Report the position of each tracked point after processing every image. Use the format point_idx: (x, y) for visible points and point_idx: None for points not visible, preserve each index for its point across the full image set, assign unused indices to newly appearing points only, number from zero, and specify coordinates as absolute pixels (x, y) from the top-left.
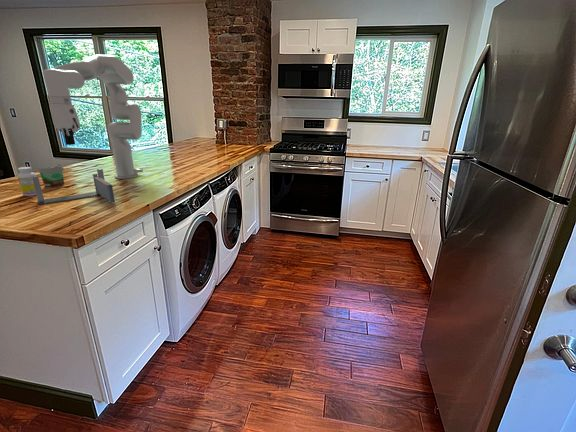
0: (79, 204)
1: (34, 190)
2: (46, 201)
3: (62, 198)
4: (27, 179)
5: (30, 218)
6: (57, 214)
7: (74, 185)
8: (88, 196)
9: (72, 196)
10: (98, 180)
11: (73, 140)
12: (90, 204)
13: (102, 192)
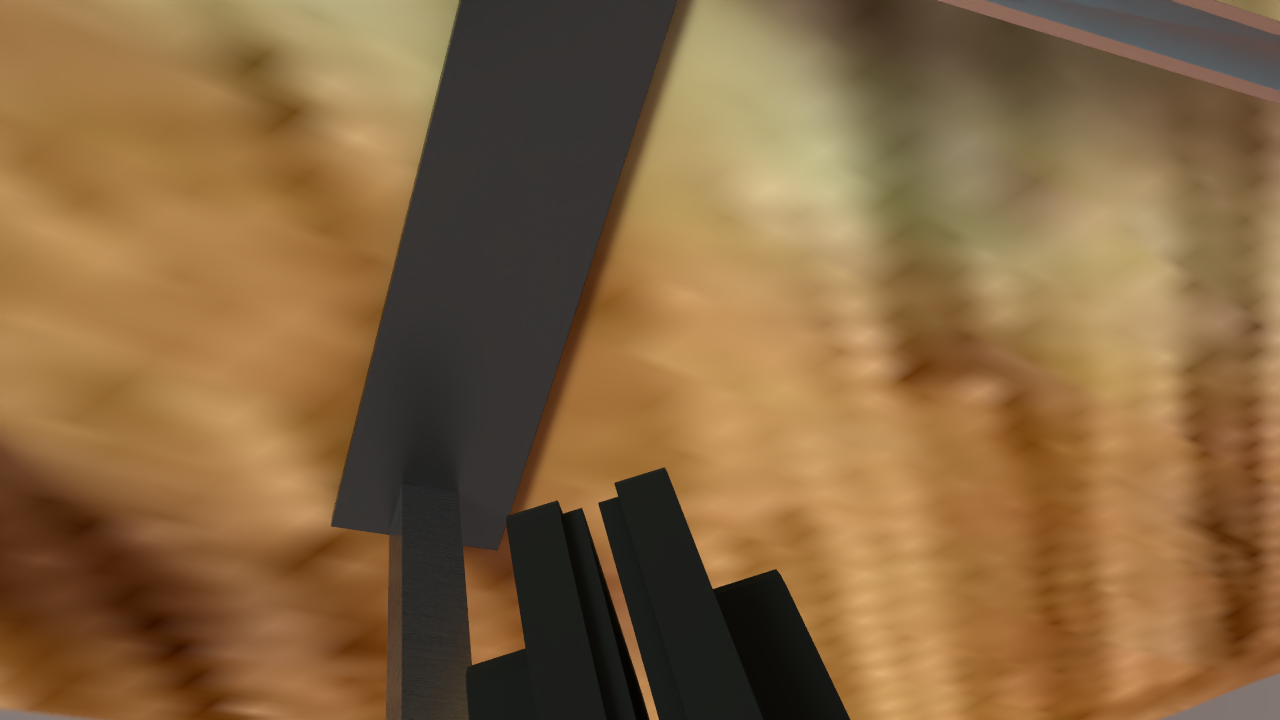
0: (836, 276)
1: None
2: (461, 477)
3: (477, 321)
4: None
5: (839, 679)
6: (939, 527)
7: None
8: (657, 58)
9: (483, 201)
10: (981, 12)
11: (800, 640)
12: (948, 200)
13: None
